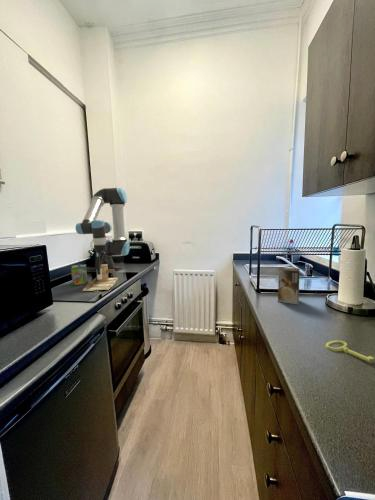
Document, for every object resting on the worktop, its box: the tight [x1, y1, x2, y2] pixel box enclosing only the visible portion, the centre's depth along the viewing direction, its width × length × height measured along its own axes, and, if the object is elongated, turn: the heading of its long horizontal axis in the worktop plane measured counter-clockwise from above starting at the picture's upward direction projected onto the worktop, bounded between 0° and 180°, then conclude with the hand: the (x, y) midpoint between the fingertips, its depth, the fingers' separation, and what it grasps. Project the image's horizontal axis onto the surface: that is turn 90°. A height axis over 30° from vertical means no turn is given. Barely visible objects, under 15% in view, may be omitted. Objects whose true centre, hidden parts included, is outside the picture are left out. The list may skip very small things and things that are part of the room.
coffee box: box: [277, 266, 301, 305], centre depth 108 cm, size 9×6×16 cm
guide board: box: [82, 276, 119, 292], centre depth 142 cm, size 22×15×4 cm
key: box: [325, 339, 375, 363], centre depth 70 cm, size 7×12×2 cm, turn 42°
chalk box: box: [70, 260, 89, 287], centre depth 148 cm, size 9×9×15 cm
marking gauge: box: [98, 264, 115, 282], centre depth 147 cm, size 6×10×10 cm, turn 94°
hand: (103, 276), depth 147 cm, fingers open, 13 cm apart
